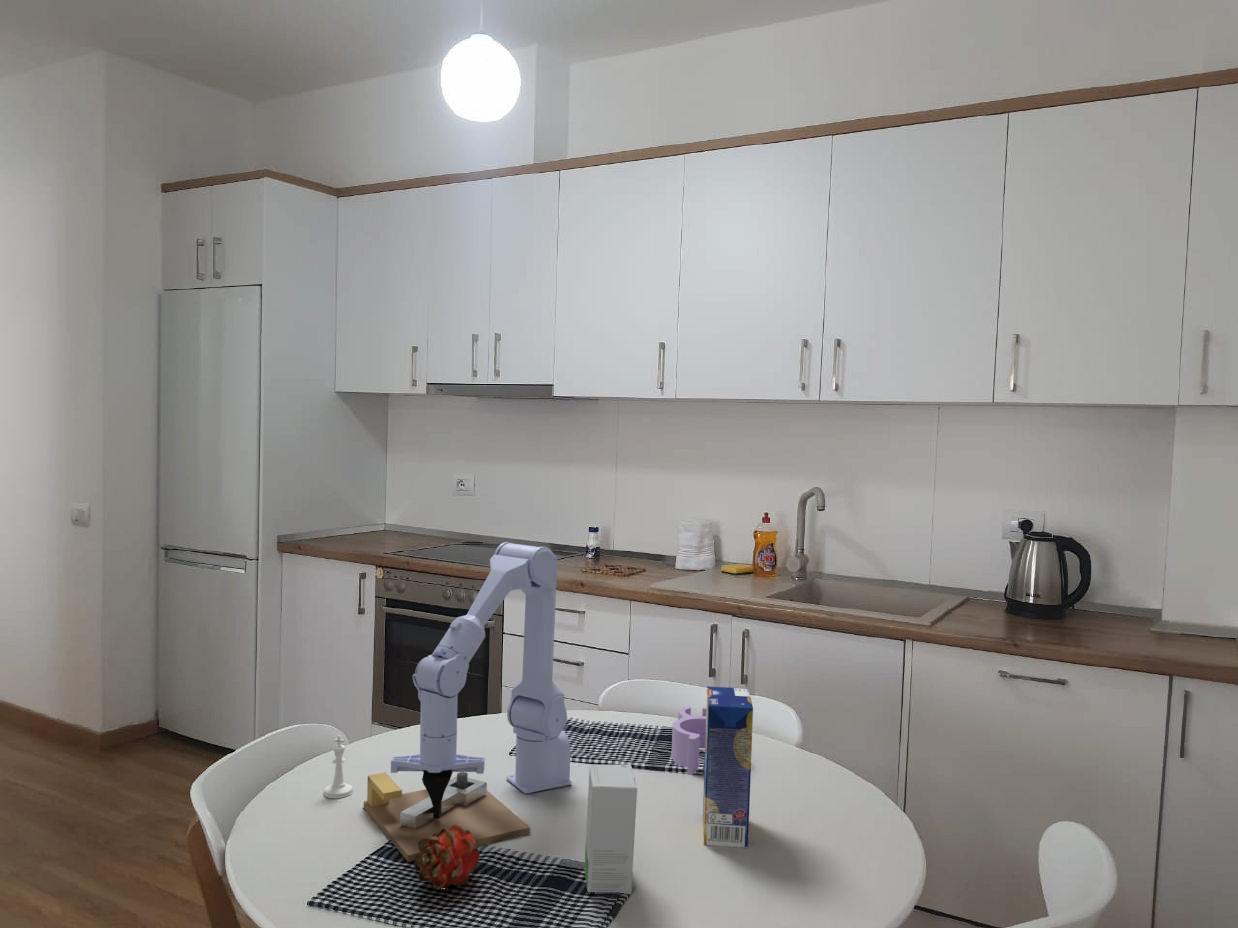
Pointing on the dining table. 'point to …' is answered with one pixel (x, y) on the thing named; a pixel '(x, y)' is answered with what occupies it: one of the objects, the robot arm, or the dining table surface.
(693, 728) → the clip
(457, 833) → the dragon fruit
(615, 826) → the skincare box
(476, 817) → the board
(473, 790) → the link
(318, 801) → the dining table surface
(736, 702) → the beverage box
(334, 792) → the chess piece
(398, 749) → the dining table surface
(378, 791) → the block
